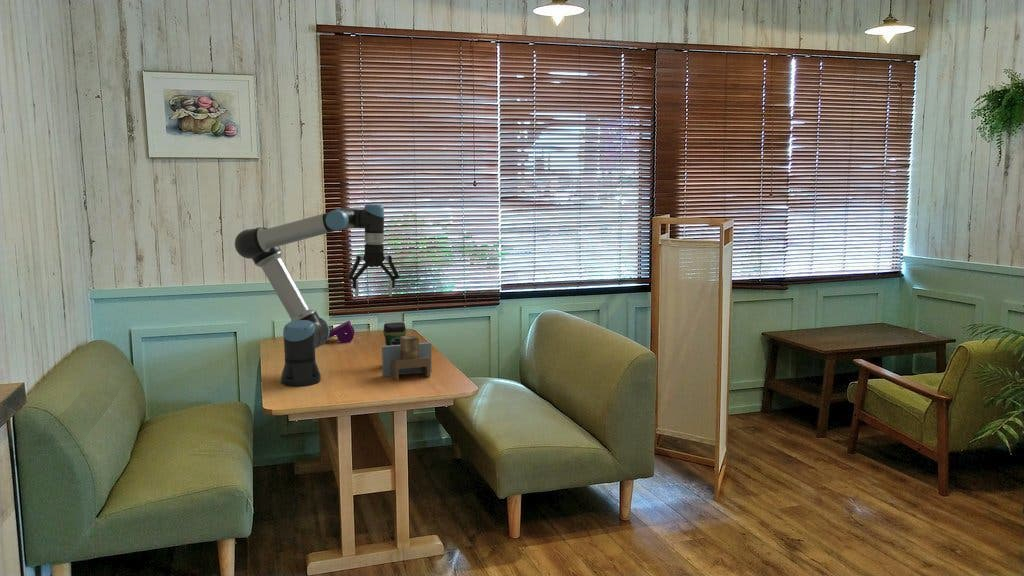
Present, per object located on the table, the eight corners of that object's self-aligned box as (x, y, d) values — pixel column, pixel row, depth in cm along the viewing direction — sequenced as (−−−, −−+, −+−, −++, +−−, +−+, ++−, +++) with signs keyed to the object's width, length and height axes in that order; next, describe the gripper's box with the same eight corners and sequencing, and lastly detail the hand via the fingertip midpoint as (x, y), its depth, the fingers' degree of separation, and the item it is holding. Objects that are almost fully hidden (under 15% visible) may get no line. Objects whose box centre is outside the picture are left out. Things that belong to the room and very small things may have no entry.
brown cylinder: (404, 363, 311) (403, 339, 309) (400, 360, 316) (400, 336, 315) (419, 362, 313) (418, 338, 312) (415, 359, 319) (414, 335, 317)
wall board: (388, 381, 308) (387, 351, 306) (382, 375, 317) (381, 346, 316) (437, 376, 315) (437, 347, 313) (430, 370, 325) (429, 342, 323)
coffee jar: (405, 362, 340) (404, 320, 337) (408, 366, 332) (407, 323, 330) (382, 364, 337) (381, 321, 334) (386, 368, 329) (384, 324, 327)
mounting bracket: (323, 355, 381) (356, 338, 382) (314, 340, 379) (348, 323, 380) (324, 351, 390) (357, 335, 391) (316, 336, 388) (349, 320, 390)
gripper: (344, 244, 302) (343, 298, 305) (407, 244, 312) (406, 297, 315) (340, 242, 309) (340, 295, 312) (402, 242, 319) (401, 294, 321)
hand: (373, 296), depth 313 cm, fingers open, 13 cm apart
